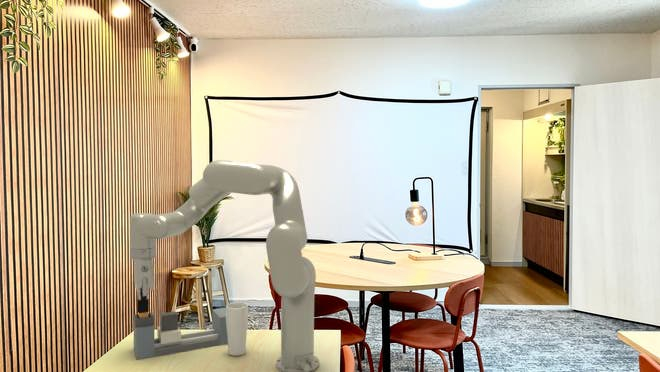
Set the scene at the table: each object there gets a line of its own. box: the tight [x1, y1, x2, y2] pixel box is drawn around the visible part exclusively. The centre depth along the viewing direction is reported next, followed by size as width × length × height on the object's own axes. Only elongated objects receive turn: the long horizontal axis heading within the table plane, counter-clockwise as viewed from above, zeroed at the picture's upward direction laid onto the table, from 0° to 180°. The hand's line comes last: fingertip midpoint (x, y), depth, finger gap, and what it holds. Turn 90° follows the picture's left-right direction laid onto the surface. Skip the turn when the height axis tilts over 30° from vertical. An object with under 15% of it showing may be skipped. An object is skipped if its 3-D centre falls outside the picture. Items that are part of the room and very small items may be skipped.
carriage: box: [156, 311, 182, 344], centre depth 144 cm, size 6×8×8 cm
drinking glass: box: [225, 302, 249, 357], centre depth 140 cm, size 7×7×15 cm
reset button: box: [138, 311, 150, 318], centre depth 140 cm, size 3×3×3 cm
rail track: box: [133, 307, 228, 361], centre depth 146 cm, size 30×10×12 cm, turn 118°
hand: (143, 311), depth 140 cm, fingers closed
